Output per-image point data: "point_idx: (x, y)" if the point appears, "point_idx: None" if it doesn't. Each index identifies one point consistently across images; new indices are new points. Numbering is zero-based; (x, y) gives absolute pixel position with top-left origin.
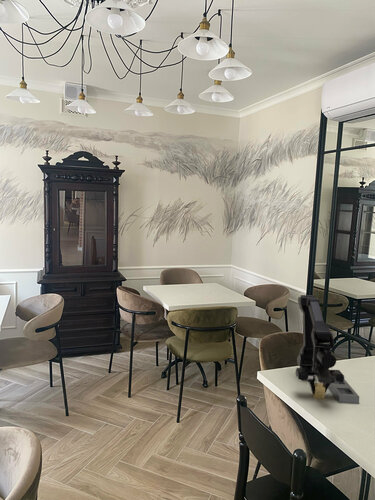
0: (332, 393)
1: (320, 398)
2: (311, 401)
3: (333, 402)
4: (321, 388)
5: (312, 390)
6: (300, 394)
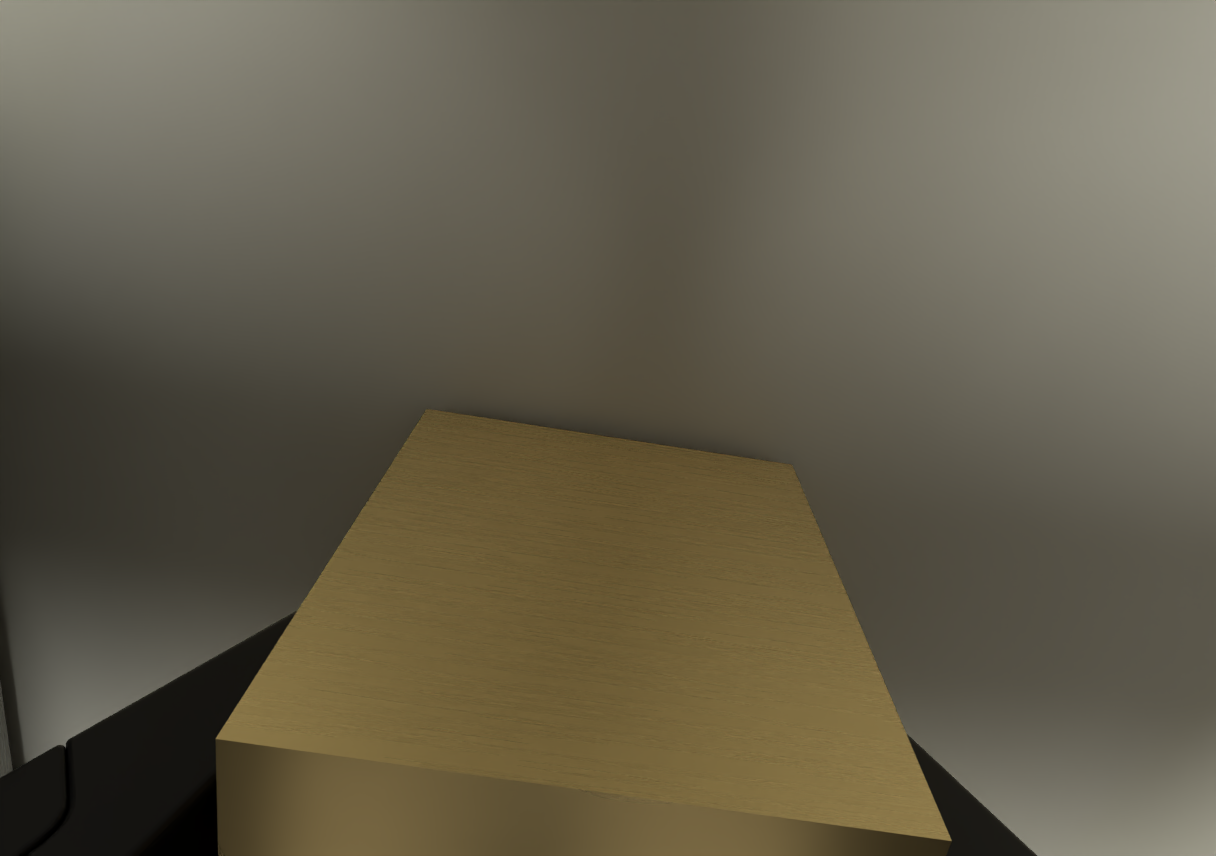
0: (4, 731)
1: (579, 438)
2: (1032, 283)
3: (152, 158)
4: (510, 711)
5: (912, 746)
6: (1117, 752)
